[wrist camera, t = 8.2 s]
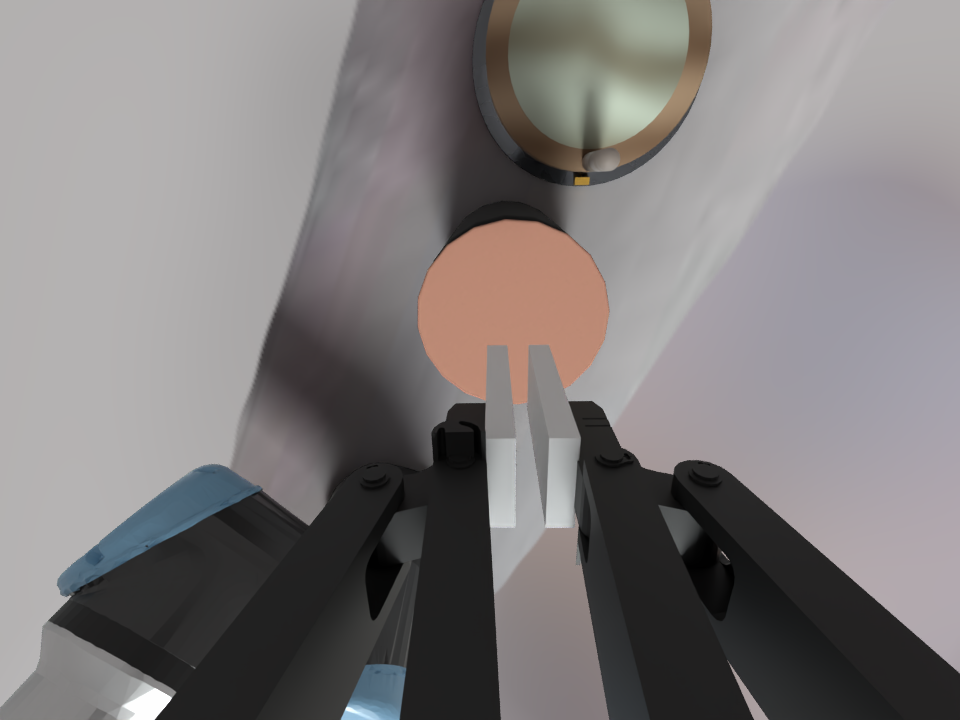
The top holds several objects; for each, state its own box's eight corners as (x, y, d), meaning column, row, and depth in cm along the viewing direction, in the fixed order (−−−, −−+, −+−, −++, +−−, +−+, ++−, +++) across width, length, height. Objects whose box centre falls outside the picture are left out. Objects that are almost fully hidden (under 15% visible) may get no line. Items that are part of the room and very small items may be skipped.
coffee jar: (454, 321, 44) (429, 411, 27) (441, 206, 40) (401, 229, 23) (565, 312, 43) (609, 399, 26) (562, 194, 39) (612, 208, 22)
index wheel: (679, 168, 37) (732, 166, 29) (489, 175, 38) (487, 175, 30) (709, -79, 31) (787, -170, 23) (483, -65, 32) (478, -149, 24)
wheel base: (551, 228, 40) (553, 230, 39) (426, 33, 35) (424, 29, 34) (744, 91, 36) (752, 88, 35) (633, -156, 30) (638, -168, 29)
